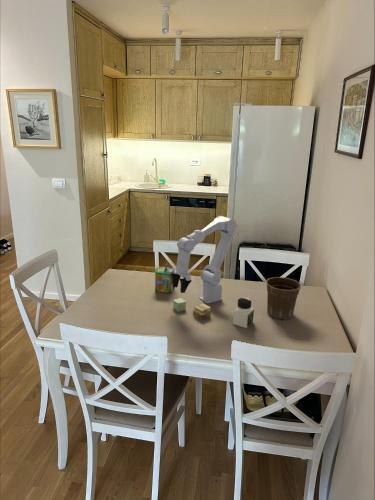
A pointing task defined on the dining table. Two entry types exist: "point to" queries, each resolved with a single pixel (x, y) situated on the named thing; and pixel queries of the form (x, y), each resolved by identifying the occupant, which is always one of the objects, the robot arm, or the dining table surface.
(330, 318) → the dining table surface
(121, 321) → the dining table surface
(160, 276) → the chalk box
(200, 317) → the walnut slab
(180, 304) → the green cube
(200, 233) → the robot arm
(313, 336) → the dining table surface
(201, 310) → the oak slab
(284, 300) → the plant pot
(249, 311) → the medicine bottle
